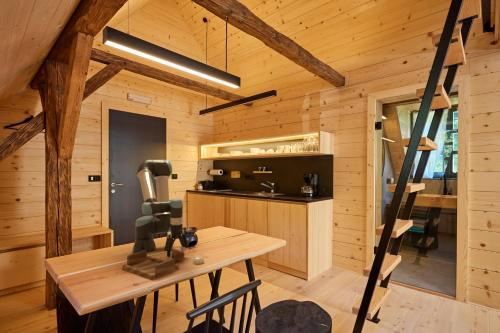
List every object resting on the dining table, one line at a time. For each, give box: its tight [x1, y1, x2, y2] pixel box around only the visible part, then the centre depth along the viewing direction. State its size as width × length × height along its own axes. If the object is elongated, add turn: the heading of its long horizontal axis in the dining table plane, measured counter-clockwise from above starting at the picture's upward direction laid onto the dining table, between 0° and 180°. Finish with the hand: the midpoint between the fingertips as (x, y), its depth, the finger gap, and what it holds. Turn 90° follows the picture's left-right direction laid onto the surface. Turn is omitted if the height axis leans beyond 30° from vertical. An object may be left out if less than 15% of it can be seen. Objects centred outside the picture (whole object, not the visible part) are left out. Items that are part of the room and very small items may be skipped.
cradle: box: [121, 250, 180, 281], centre depth 152 cm, size 27×18×7 cm, turn 57°
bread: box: [171, 248, 185, 262], centre depth 170 cm, size 6×19×6 cm, turn 33°
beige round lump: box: [192, 255, 205, 265], centre depth 163 cm, size 6×6×3 cm
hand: (176, 259), depth 168 cm, fingers open, 10 cm apart
